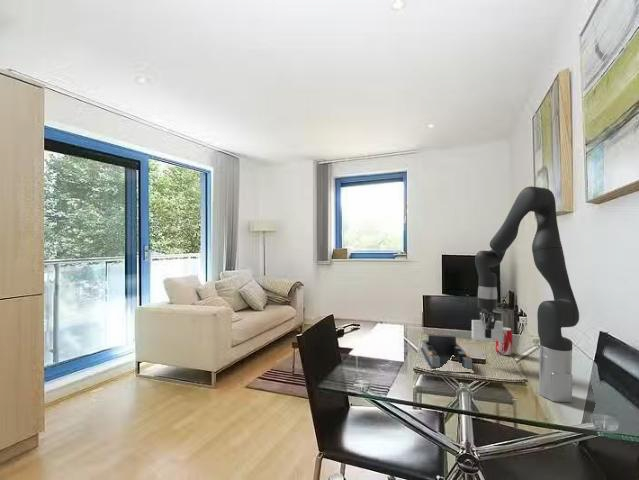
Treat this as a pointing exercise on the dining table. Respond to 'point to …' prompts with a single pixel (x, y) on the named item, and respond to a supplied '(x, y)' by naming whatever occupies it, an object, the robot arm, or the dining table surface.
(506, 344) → the soda can
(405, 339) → the dining table surface
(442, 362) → the rack
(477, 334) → the panel
